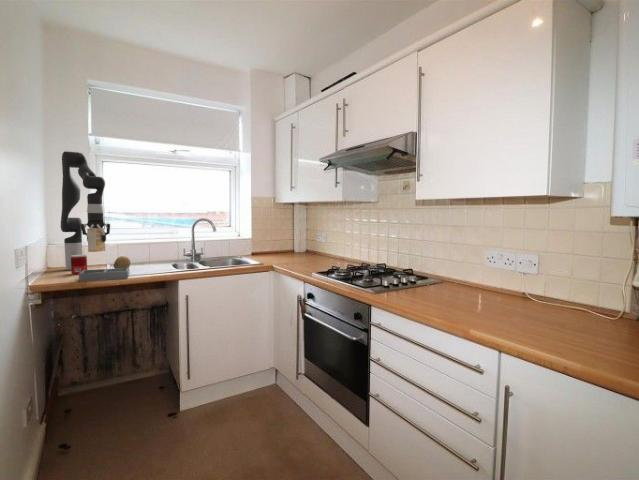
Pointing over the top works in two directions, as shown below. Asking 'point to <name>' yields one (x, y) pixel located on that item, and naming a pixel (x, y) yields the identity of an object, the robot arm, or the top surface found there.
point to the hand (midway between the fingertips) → (96, 242)
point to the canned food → (78, 263)
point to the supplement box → (95, 240)
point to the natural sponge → (122, 262)
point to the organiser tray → (103, 274)
